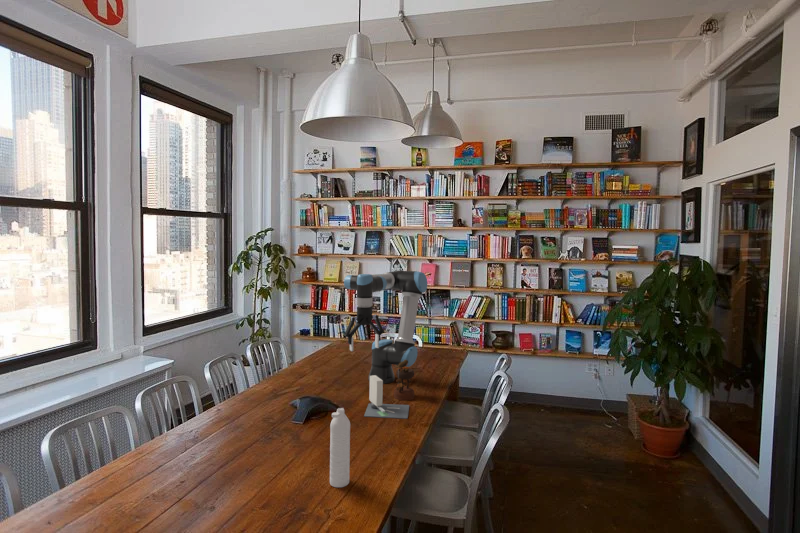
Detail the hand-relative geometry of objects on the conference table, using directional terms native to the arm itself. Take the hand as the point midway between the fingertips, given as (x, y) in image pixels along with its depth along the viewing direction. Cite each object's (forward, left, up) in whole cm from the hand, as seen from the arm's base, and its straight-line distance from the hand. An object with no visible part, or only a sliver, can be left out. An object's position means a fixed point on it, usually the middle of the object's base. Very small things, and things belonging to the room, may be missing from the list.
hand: (364, 349), depth 218 cm
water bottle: (+73, +3, -28) cm, 78 cm away
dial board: (+8, +13, -27) cm, 31 cm away
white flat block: (+7, +8, -27) cm, 29 cm away
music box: (-13, +20, -28) cm, 36 cm away
